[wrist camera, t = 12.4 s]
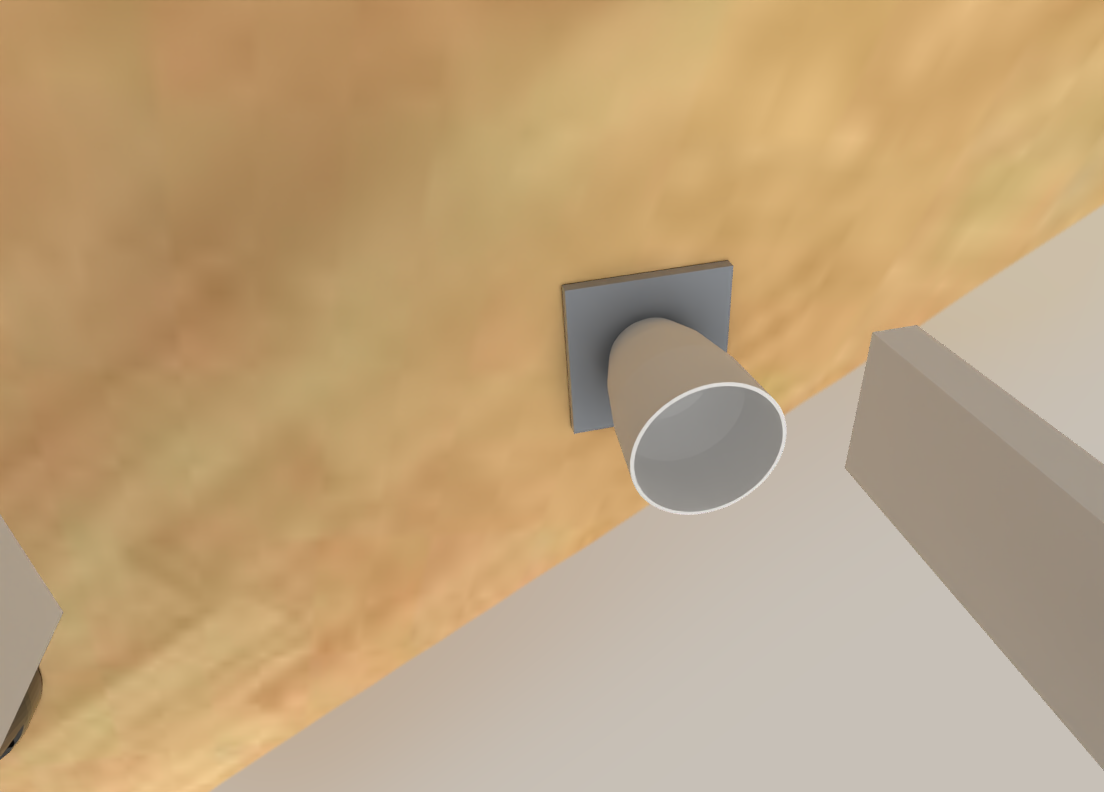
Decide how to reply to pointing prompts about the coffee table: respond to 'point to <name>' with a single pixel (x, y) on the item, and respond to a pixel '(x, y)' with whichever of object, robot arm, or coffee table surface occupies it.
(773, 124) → the coffee table surface
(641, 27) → the coffee table surface
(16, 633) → the robot arm
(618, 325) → the coaster
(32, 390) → the coffee table surface
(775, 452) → the cup
